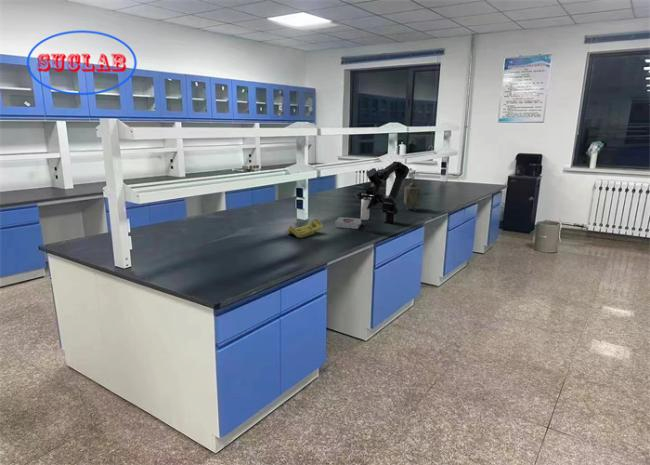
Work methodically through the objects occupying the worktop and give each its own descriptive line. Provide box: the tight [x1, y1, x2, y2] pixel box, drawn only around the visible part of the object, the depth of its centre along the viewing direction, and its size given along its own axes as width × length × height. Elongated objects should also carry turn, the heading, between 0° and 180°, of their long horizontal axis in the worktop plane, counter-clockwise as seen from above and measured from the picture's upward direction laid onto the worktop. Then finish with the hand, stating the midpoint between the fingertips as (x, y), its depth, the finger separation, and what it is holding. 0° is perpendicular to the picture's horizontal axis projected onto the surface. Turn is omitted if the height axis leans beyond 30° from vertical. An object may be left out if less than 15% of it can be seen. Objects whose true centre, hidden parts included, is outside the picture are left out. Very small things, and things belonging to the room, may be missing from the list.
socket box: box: [334, 216, 362, 230], centre depth 264 cm, size 14×14×4 cm
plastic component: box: [286, 218, 323, 239], centre depth 243 cm, size 20×7×10 cm
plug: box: [360, 198, 371, 221], centre depth 251 cm, size 5×5×12 cm
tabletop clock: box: [403, 176, 421, 212], centre depth 316 cm, size 14×9×25 cm, turn 179°
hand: (363, 208), depth 250 cm, fingers closed on plug, 5 cm apart
